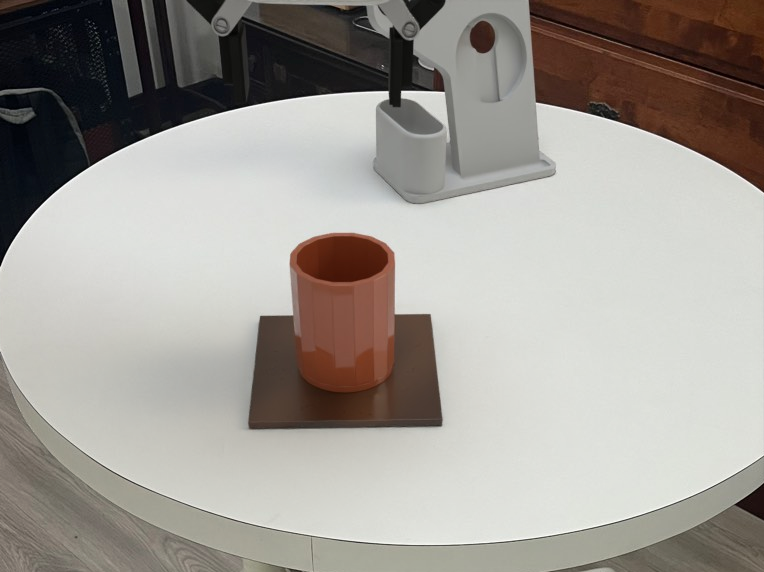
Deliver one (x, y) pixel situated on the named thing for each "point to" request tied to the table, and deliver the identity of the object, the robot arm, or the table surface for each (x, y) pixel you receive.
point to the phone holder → (465, 107)
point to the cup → (343, 311)
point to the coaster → (354, 409)
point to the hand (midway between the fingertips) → (318, 97)
